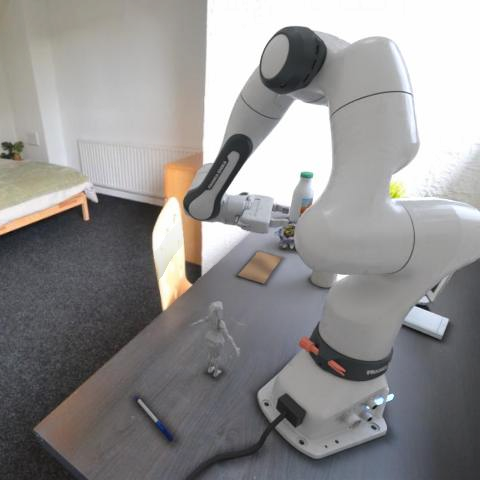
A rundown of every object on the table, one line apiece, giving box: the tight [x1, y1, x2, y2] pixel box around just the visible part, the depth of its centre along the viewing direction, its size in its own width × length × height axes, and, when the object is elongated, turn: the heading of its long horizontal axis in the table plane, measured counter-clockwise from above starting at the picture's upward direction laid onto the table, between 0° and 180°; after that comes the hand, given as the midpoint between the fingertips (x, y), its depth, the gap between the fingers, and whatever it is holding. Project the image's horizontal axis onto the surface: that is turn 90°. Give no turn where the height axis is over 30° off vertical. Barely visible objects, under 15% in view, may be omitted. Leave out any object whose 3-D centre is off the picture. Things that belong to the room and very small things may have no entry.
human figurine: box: [189, 300, 243, 378], centre depth 64 cm, size 12×4×18 cm, turn 45°
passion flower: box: [273, 219, 299, 250], centre depth 116 cm, size 11×11×12 cm
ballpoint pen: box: [135, 396, 174, 441], centre depth 60 cm, size 10×1×1 cm, turn 40°
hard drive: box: [402, 305, 450, 340], centre depth 82 cm, size 2×8×12 cm
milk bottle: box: [288, 171, 315, 221], centre depth 133 cm, size 8×8×20 cm
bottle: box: [310, 269, 338, 289], centre depth 93 cm, size 6×6×18 cm
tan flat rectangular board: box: [237, 251, 283, 285], centre depth 105 cm, size 18×8×1 cm, turn 146°
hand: (288, 216), depth 93 cm, fingers open, 8 cm apart
